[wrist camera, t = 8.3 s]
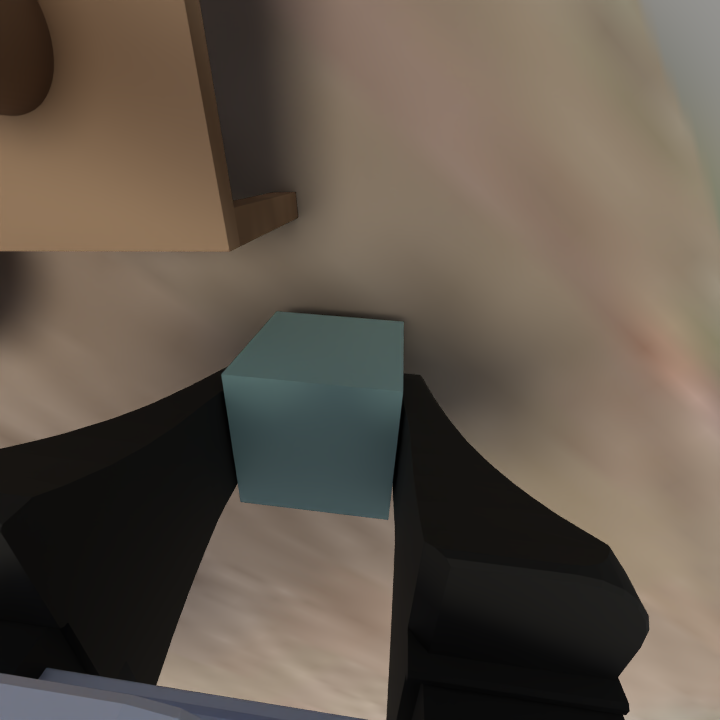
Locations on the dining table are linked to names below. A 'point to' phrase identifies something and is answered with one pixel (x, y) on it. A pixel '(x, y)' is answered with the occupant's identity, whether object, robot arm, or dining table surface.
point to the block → (317, 413)
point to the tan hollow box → (116, 132)
